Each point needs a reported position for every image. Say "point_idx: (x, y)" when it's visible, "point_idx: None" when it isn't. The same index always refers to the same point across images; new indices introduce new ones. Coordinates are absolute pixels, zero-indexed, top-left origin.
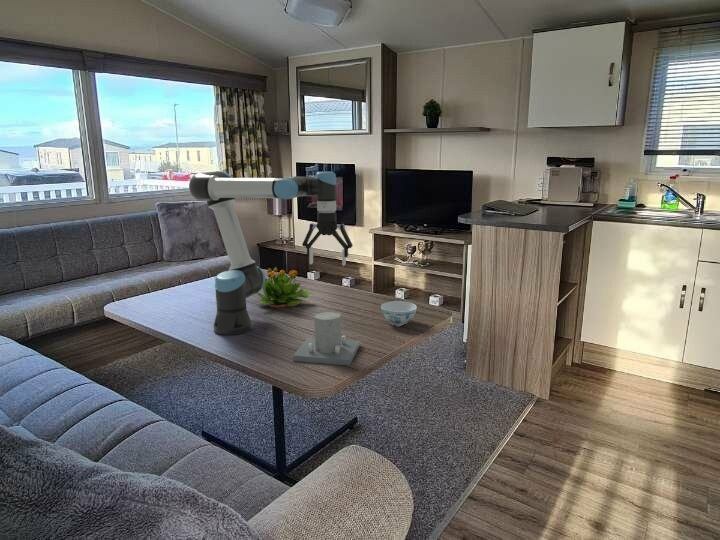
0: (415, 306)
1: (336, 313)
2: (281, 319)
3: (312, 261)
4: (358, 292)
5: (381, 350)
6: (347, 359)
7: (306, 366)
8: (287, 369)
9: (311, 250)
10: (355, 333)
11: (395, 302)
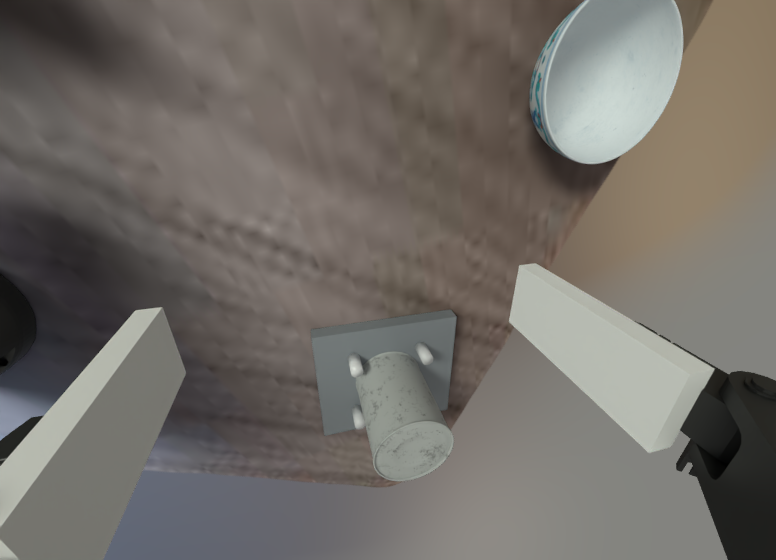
0: (676, 53)
1: (436, 425)
2: (52, 140)
3: (164, 349)
4: None
5: (500, 315)
6: (443, 408)
7: (361, 432)
8: (330, 454)
9: (91, 537)
10: (425, 225)
11: None
